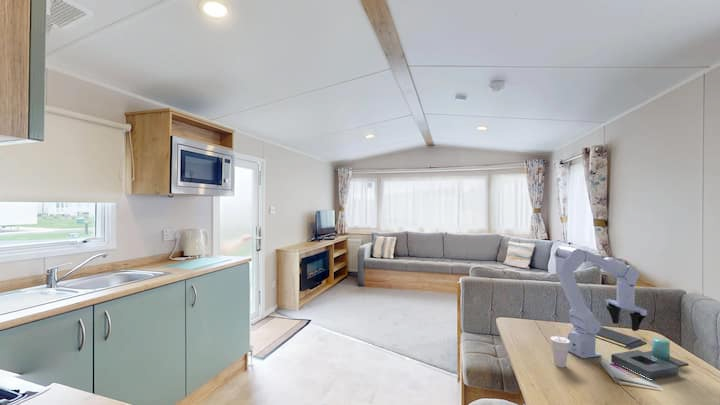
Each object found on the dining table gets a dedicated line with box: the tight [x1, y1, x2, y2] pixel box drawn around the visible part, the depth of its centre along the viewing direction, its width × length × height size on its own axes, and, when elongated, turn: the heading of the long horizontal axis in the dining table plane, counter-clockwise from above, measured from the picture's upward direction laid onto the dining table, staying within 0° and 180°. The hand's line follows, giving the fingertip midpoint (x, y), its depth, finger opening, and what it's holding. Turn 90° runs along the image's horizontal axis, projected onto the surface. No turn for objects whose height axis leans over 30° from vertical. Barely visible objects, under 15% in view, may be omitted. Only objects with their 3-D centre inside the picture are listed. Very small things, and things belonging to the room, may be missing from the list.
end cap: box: [651, 337, 671, 362], centre depth 124 cm, size 5×5×7 cm
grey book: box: [596, 326, 648, 351], centre depth 145 cm, size 20×2×15 cm
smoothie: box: [550, 326, 570, 368], centre depth 120 cm, size 6×6×14 cm
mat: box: [643, 350, 689, 367], centre depth 124 cm, size 11×11×1 cm
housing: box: [610, 349, 679, 381], centre depth 118 cm, size 14×13×3 cm
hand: (625, 326), depth 131 cm, fingers open, 7 cm apart
